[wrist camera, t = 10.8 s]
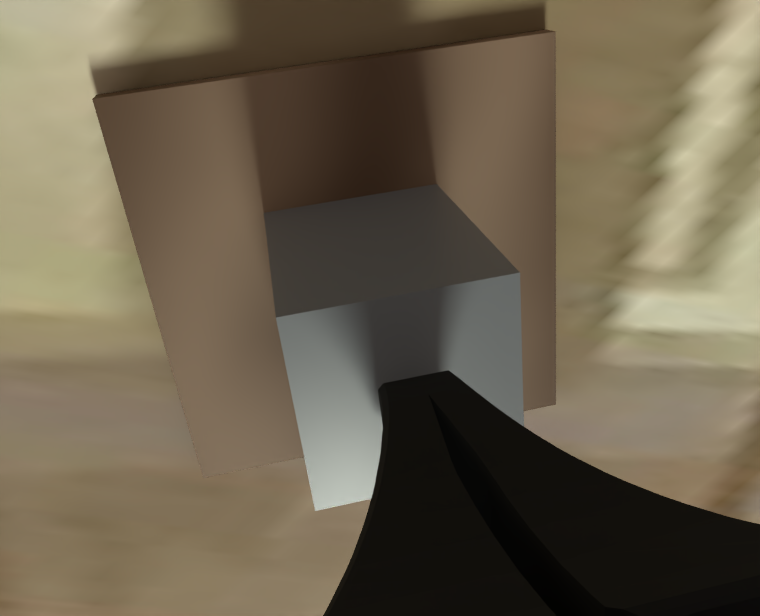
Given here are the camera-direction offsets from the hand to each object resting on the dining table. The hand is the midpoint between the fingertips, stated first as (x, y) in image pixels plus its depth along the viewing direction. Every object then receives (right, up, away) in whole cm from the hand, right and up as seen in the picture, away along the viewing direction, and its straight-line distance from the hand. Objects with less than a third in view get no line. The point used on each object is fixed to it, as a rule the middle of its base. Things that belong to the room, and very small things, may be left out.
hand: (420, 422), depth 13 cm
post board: (-1, +3, +7) cm, 7 cm away
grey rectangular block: (-1, +3, +6) cm, 7 cm away
